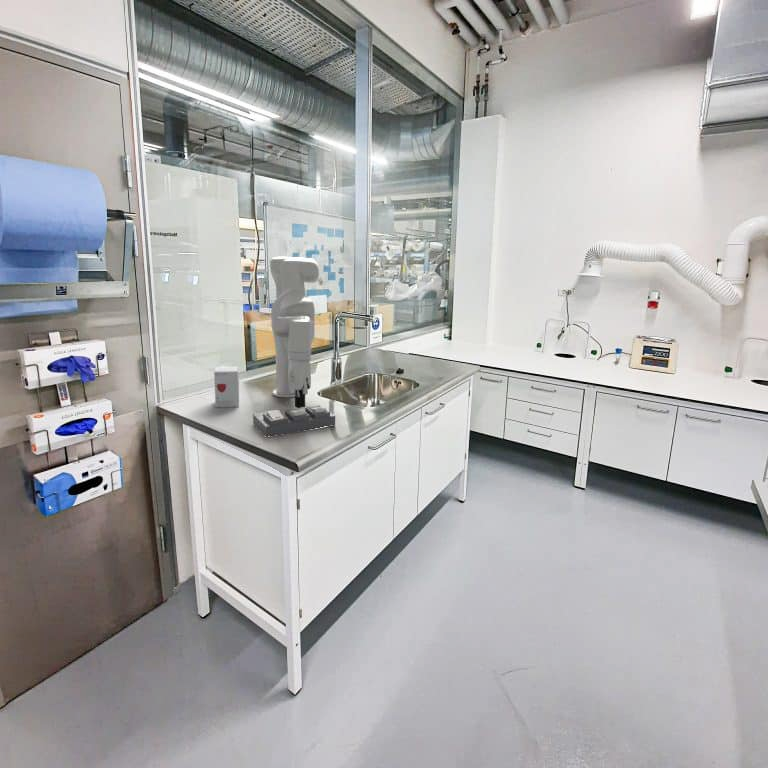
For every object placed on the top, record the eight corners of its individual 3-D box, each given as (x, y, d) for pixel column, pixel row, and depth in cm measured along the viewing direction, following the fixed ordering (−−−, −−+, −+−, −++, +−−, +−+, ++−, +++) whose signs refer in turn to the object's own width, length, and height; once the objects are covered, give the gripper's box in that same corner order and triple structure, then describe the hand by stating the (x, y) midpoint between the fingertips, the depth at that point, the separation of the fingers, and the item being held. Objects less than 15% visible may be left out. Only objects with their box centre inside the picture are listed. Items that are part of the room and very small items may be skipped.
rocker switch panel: (253, 424, 163) (252, 409, 161) (318, 414, 177) (319, 400, 175) (266, 437, 152) (265, 422, 150) (335, 425, 166) (335, 411, 164)
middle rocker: (288, 414, 162) (288, 410, 162) (299, 412, 164) (298, 409, 164) (295, 416, 157) (294, 412, 157) (305, 414, 159) (305, 410, 159)
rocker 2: (309, 411, 167) (309, 407, 166) (319, 409, 169) (318, 406, 169) (316, 412, 162) (315, 409, 161) (326, 411, 164) (325, 407, 164)
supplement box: (215, 408, 178) (213, 371, 174) (216, 401, 186) (215, 366, 182) (239, 407, 180) (237, 371, 176) (239, 400, 189) (238, 365, 185)
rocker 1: (267, 414, 158) (267, 410, 157) (278, 412, 160) (278, 409, 159) (272, 422, 153) (273, 419, 153) (284, 421, 155) (284, 417, 155)
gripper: (281, 352, 157) (282, 402, 162) (298, 360, 145) (298, 414, 150) (301, 351, 161) (301, 400, 166) (319, 359, 149) (318, 411, 154)
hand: (300, 406), depth 158 cm, fingers closed
